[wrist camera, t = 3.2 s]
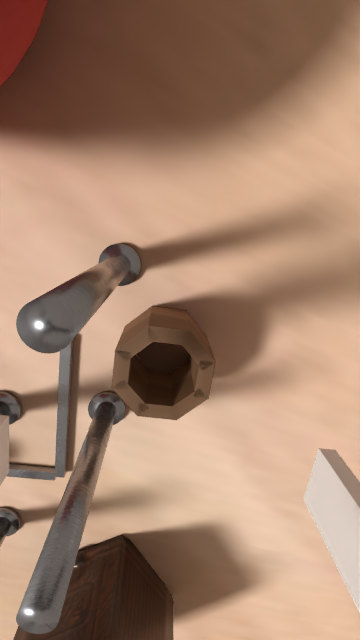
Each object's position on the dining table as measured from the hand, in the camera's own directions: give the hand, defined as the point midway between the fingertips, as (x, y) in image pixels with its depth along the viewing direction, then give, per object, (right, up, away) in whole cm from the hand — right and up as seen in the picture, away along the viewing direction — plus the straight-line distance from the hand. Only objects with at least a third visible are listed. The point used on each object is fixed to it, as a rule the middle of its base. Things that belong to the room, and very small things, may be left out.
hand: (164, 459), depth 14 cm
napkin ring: (-1, +4, +12) cm, 12 cm away
